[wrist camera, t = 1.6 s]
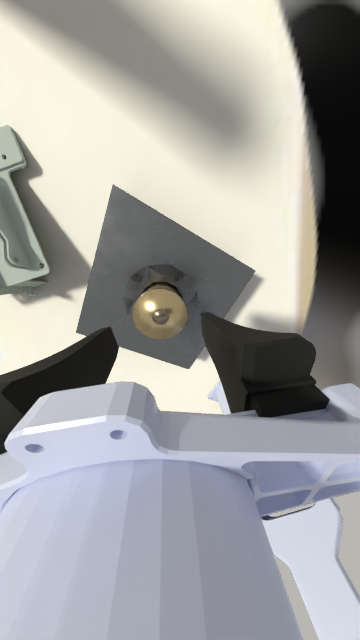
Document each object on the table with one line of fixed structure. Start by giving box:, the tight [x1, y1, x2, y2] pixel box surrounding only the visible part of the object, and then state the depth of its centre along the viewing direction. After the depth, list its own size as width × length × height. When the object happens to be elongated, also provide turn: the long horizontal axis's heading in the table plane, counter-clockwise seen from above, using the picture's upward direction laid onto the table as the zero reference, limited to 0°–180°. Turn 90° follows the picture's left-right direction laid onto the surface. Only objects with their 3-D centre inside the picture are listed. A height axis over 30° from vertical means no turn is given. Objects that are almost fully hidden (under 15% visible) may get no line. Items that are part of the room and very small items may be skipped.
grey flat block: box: [76, 185, 255, 369], centre depth 19 cm, size 16×16×4 cm
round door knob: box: [133, 281, 187, 339], centre depth 17 cm, size 5×5×7 cm
